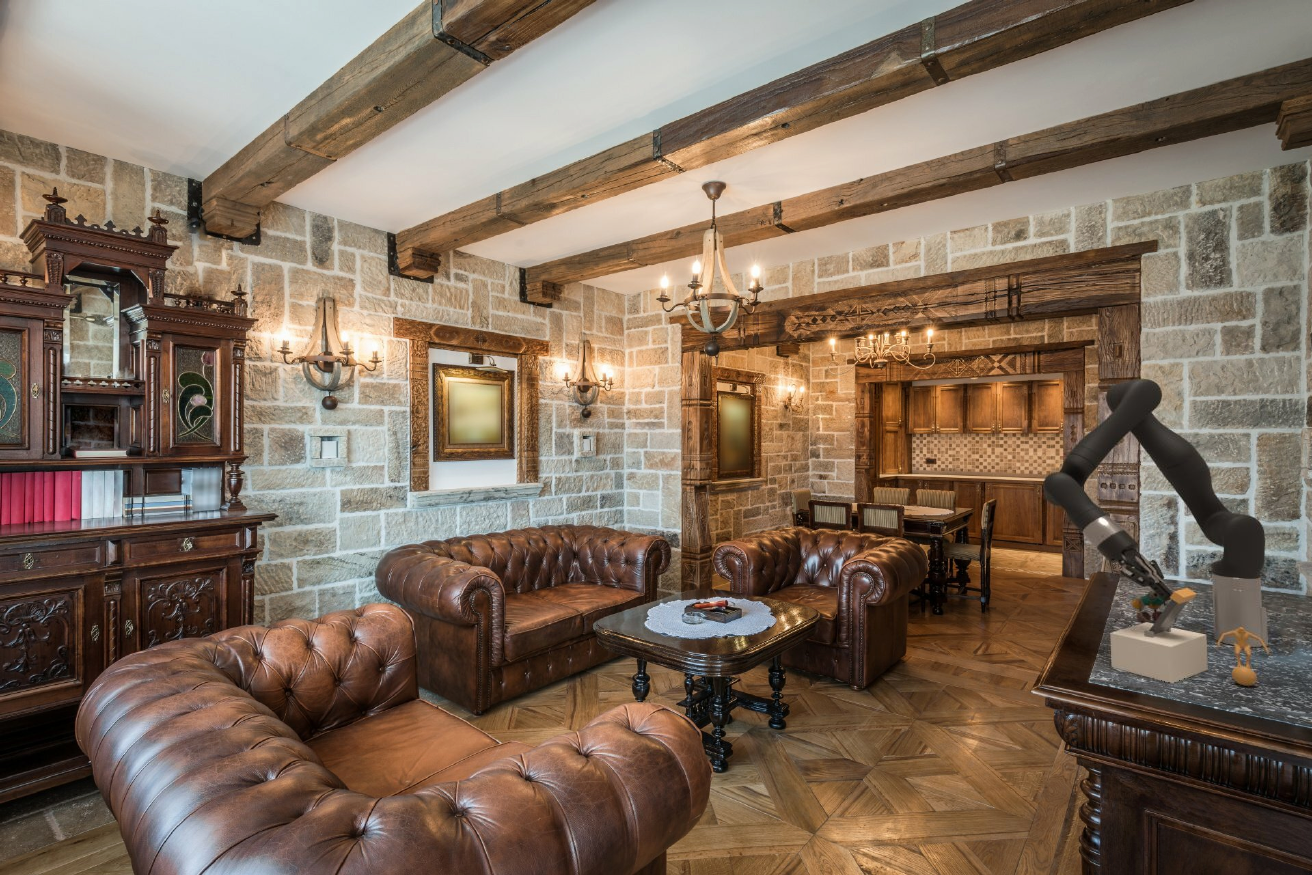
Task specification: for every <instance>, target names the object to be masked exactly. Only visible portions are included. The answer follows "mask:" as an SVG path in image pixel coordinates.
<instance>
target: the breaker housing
mask: <svg viewBox="0 0 1312 875" xmlns="http://www.w3.org/2000/svg"><path fill="white" fill-rule="evenodd" d="M1153 624H1154V623H1152V622H1150V623H1147V622H1145V623H1142V622H1141V623H1139V624H1136V625H1132V626H1129V627H1126V628H1125V627H1124V628H1122V629H1120V630H1116V631H1113V632H1110V655H1111V656H1110V658H1111V659H1110V660H1111V662H1110V663H1111V668H1114V669H1117V670H1121V671H1125V672H1128V673H1132V674H1135V675H1138V676H1143V677H1147V678H1151V679H1153V678H1154V679H1153V680H1157V681H1161V680H1162V681H1161V682H1164V681H1165V682H1166V683H1168V682H1170V683H1169V684H1175V683H1174V682H1176V683H1178V682H1180V681H1182V680H1185V679H1188V678H1190V677H1192V676H1195V675H1197V674H1200V673H1203V672H1205V671H1208V668H1209V667H1208V645H1207V644H1208V643H1207V641H1208V640H1207V634H1205V633H1204V634H1203V633H1200V632H1194V631H1191V630H1186V629H1180V628H1175V627H1171V626H1170V627H1169V628H1168V629H1167V631H1164V632H1161V633H1158V634H1155V635H1154V632H1152V631H1149V630H1150V629H1151V627H1152V626H1153ZM1184 678H1185V679H1184ZM1179 680H1180V681H1179Z"/></svg>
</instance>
